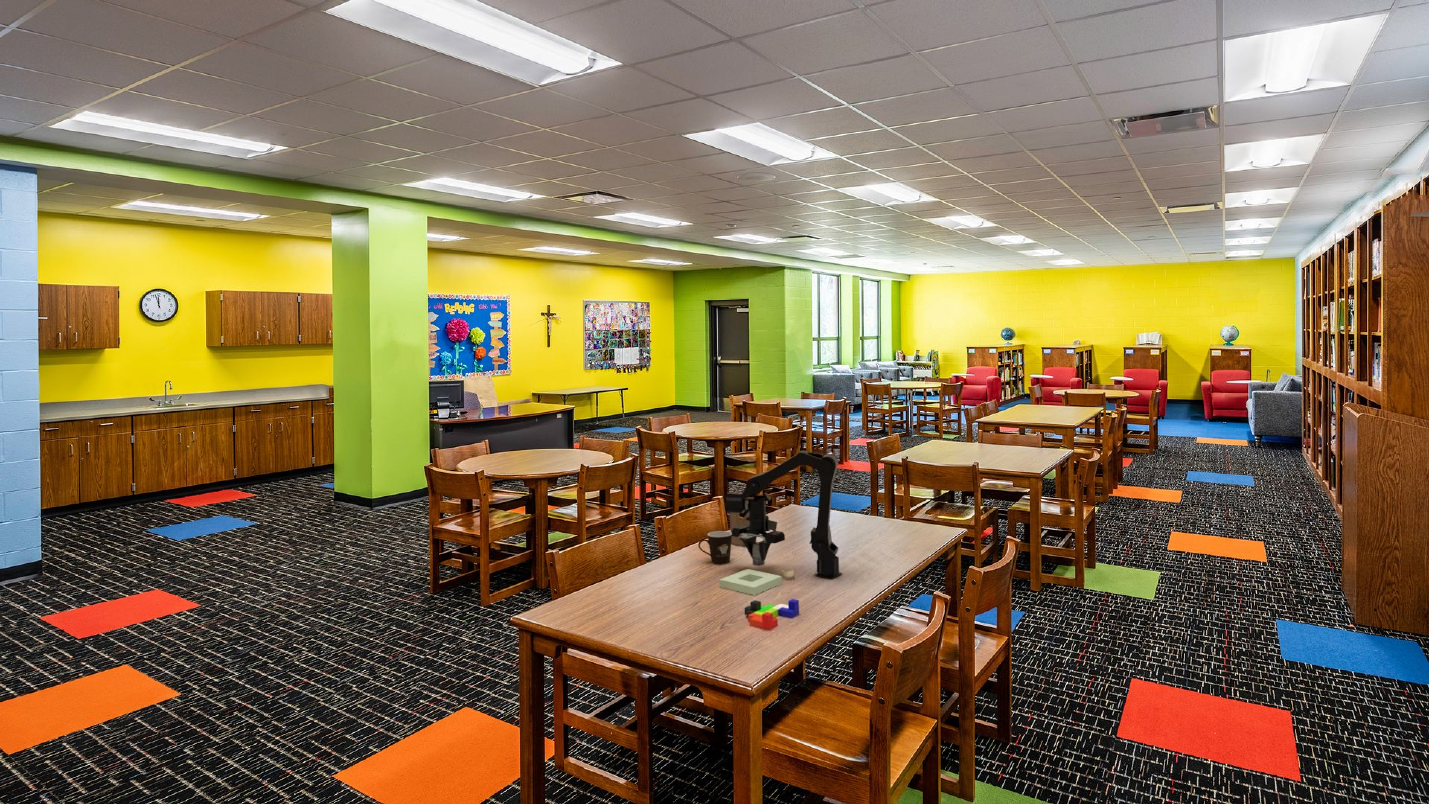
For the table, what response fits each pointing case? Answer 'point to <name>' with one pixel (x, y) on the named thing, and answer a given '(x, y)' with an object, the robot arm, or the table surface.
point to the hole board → (750, 581)
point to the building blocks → (770, 613)
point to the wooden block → (734, 523)
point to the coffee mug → (719, 546)
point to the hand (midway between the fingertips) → (758, 559)
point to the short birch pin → (788, 574)
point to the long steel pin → (757, 554)
